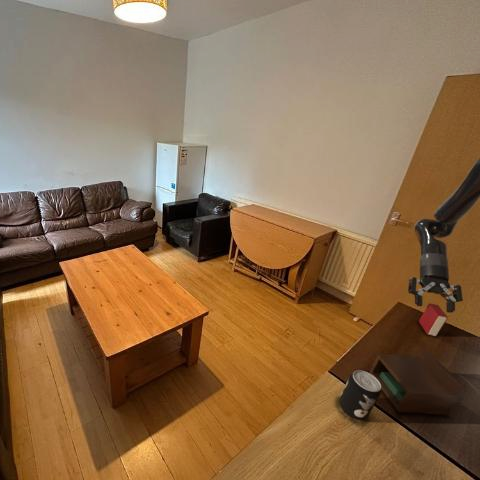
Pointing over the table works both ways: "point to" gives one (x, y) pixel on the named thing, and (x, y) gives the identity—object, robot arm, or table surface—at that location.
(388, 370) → the bookshelf
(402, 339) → the table surface
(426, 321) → the book
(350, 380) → the beverage can
